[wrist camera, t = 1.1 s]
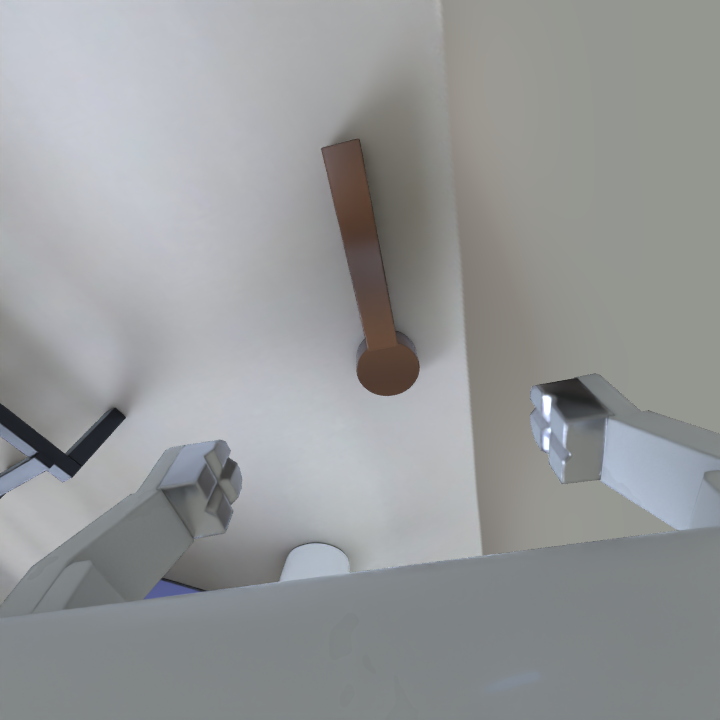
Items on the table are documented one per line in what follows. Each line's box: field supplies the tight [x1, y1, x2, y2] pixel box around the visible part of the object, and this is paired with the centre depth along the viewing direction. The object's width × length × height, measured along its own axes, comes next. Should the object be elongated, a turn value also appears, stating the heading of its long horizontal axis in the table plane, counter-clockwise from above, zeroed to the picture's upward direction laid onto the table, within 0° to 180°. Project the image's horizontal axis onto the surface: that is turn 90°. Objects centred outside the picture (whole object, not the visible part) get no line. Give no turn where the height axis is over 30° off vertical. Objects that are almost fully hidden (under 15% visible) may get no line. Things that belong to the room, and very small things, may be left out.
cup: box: [279, 543, 350, 582], centre depth 34 cm, size 9×9×12 cm
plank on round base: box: [321, 139, 420, 396], centre depth 24 cm, size 16×4×3 cm, turn 12°
